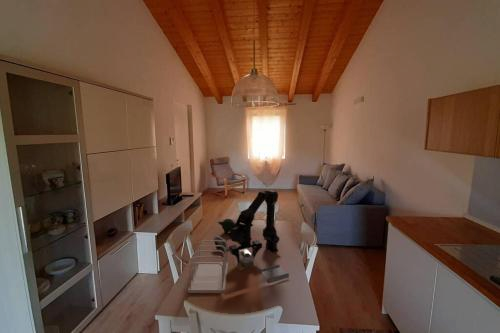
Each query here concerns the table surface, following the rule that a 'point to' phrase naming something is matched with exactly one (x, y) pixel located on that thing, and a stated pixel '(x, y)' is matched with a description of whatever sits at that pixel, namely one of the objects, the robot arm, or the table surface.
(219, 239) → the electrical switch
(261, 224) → the table surface
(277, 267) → the cabinet frame
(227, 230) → the toy figurine
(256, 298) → the table surface
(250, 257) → the grey drawer
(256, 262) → the stand
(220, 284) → the file sorter
